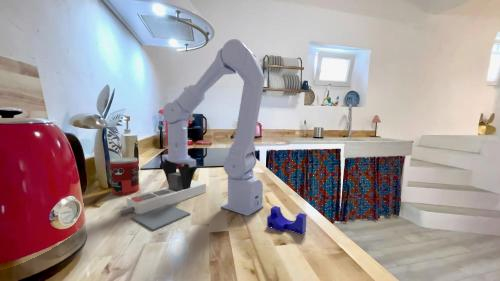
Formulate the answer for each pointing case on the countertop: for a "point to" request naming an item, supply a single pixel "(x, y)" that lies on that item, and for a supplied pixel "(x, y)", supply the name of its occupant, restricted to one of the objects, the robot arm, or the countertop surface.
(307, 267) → the countertop surface
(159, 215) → the mat
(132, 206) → the strip
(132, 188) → the canned food
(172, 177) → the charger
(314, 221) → the countertop surface
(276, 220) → the cable holder
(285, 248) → the countertop surface
